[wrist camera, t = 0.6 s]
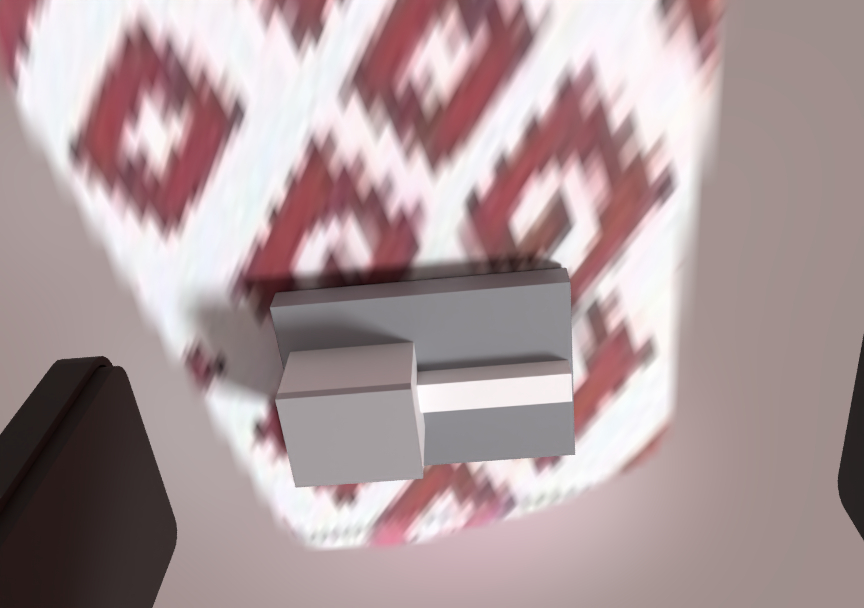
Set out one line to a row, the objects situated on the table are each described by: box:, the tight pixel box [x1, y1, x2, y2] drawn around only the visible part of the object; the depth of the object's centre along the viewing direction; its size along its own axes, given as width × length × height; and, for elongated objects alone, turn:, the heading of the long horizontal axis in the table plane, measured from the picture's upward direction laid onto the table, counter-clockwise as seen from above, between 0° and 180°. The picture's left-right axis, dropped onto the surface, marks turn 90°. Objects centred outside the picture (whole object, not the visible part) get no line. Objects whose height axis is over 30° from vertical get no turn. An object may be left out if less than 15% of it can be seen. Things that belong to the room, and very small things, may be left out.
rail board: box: [270, 268, 575, 487], centre depth 40 cm, size 10×14×6 cm
